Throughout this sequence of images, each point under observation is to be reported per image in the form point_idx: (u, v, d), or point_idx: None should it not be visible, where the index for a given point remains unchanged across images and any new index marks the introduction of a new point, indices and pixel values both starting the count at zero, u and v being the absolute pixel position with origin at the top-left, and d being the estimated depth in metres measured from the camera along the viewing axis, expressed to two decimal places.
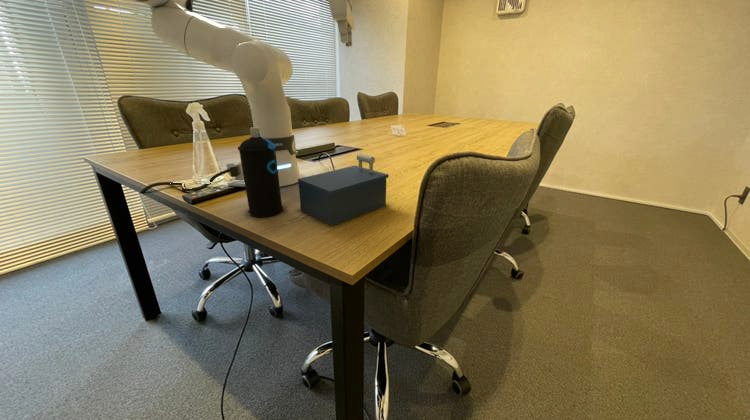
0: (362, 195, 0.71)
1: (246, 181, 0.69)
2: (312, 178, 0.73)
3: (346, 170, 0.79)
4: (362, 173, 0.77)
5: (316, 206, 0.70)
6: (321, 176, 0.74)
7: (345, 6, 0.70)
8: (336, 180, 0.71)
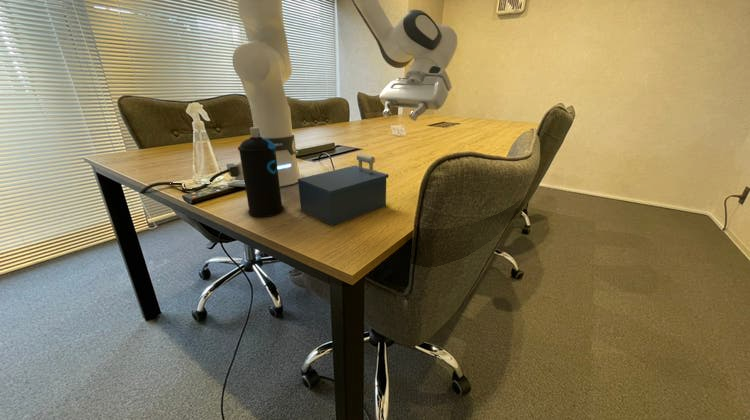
0: (362, 195, 0.71)
1: (246, 181, 0.69)
2: (312, 178, 0.73)
3: (346, 170, 0.79)
4: (362, 173, 0.77)
5: (316, 206, 0.70)
6: (321, 176, 0.74)
7: (442, 104, 0.78)
8: (336, 180, 0.71)
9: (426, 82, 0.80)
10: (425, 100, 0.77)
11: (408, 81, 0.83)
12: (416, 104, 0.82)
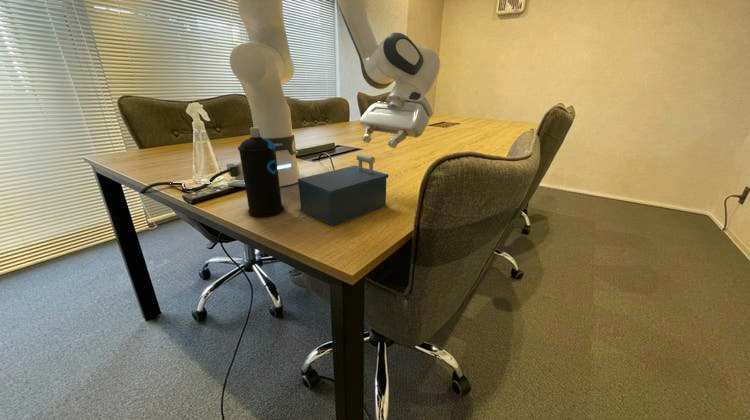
0: (362, 195, 0.71)
1: (246, 181, 0.69)
2: (312, 178, 0.73)
3: (346, 170, 0.79)
4: (362, 173, 0.77)
5: (316, 206, 0.70)
6: (321, 176, 0.74)
7: (423, 131, 0.75)
8: (336, 180, 0.71)
9: (406, 108, 0.77)
10: (404, 128, 0.74)
11: (389, 106, 0.81)
12: (396, 130, 0.79)
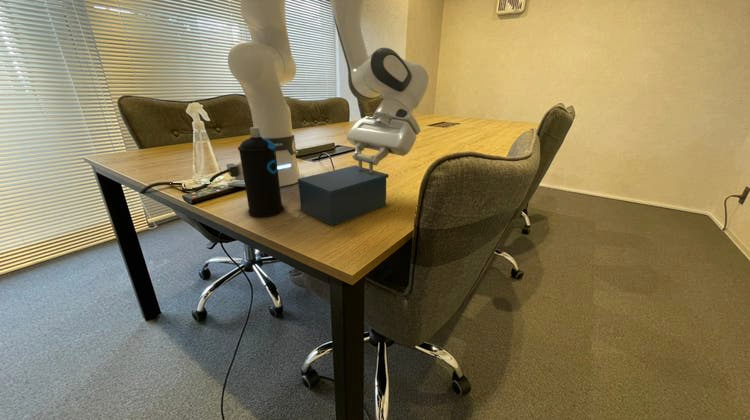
0: (362, 195, 0.71)
1: (246, 181, 0.69)
2: (312, 178, 0.73)
3: (346, 170, 0.79)
4: (362, 173, 0.77)
5: (316, 206, 0.70)
6: (321, 176, 0.74)
7: (409, 150, 0.73)
8: (336, 180, 0.71)
9: (393, 125, 0.75)
10: (390, 146, 0.73)
11: (375, 122, 0.79)
12: None
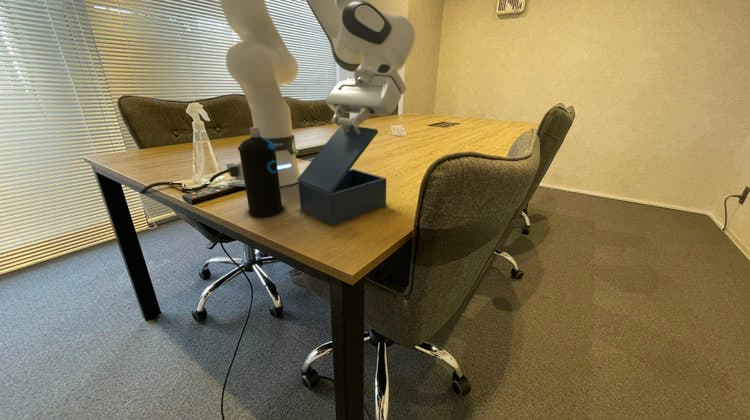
0: (362, 195, 0.71)
1: (246, 181, 0.69)
2: (309, 172, 0.71)
3: (335, 139, 0.74)
4: (351, 138, 0.71)
5: (316, 206, 0.70)
6: (315, 164, 0.72)
7: (393, 109, 0.66)
8: (330, 166, 0.69)
9: (375, 83, 0.67)
10: (372, 105, 0.65)
11: (356, 82, 0.71)
12: None
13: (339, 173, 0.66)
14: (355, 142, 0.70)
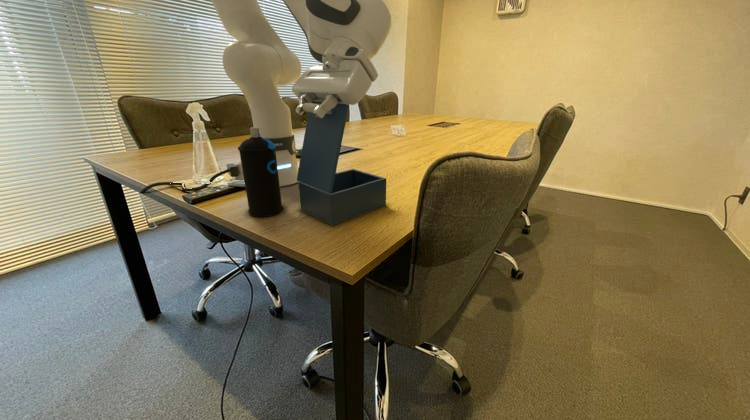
0: (362, 195, 0.71)
1: (246, 181, 0.69)
2: (303, 170, 0.70)
3: (311, 124, 0.68)
4: (325, 121, 0.65)
5: (316, 206, 0.70)
6: (305, 160, 0.70)
7: (362, 97, 0.58)
8: (319, 161, 0.66)
9: (342, 68, 0.60)
10: (337, 91, 0.57)
11: (324, 68, 0.64)
12: None
13: (330, 169, 0.64)
14: (331, 126, 0.64)
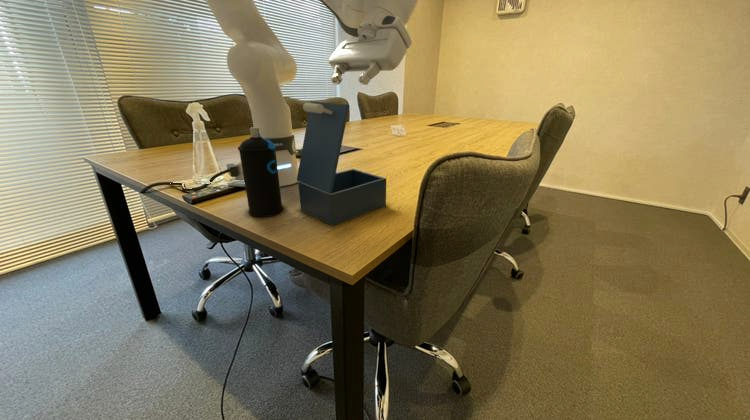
0: (362, 195, 0.71)
1: (246, 181, 0.69)
2: (303, 170, 0.70)
3: (312, 124, 0.68)
4: (326, 121, 0.65)
5: (316, 206, 0.70)
6: (305, 160, 0.70)
7: (399, 63, 0.63)
8: (319, 161, 0.66)
9: (379, 37, 0.65)
10: (376, 58, 0.62)
11: (360, 38, 0.68)
12: (369, 65, 0.67)
13: (330, 169, 0.64)
14: (331, 126, 0.64)
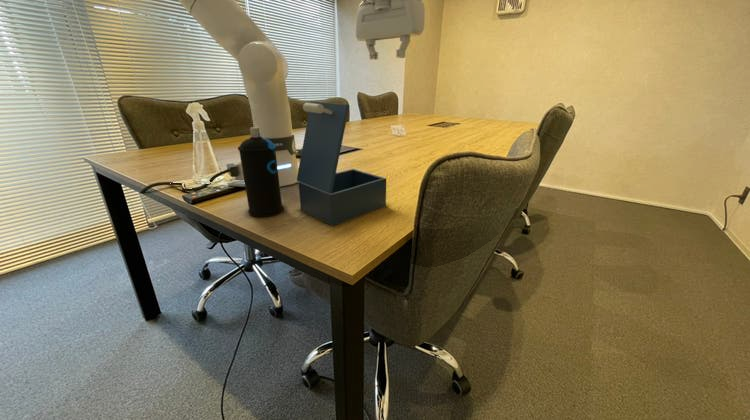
0: (362, 195, 0.71)
1: (246, 181, 0.69)
2: (303, 170, 0.70)
3: (312, 124, 0.68)
4: (326, 121, 0.65)
5: (316, 206, 0.70)
6: (305, 160, 0.70)
7: None
8: (319, 161, 0.66)
9: (395, 6, 0.70)
10: (404, 33, 0.70)
11: (376, 10, 0.73)
12: None
13: (330, 169, 0.64)
14: (331, 126, 0.64)
